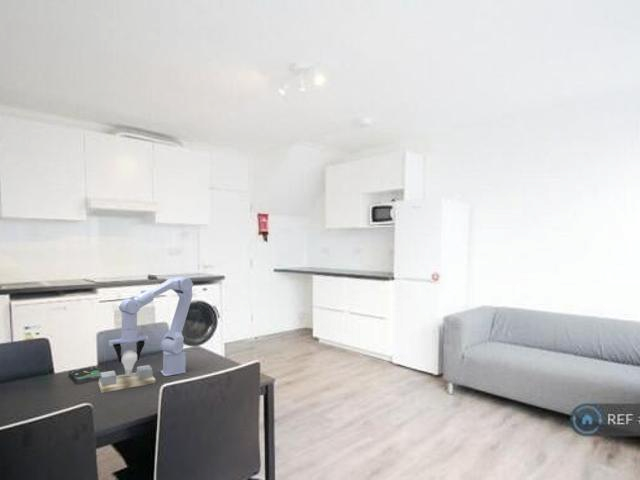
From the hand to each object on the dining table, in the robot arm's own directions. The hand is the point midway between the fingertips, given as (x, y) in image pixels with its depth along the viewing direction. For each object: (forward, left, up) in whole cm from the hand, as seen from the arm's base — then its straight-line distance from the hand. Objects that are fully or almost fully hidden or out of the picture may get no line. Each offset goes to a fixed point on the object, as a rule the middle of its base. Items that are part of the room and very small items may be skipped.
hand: (128, 360), depth 159 cm
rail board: (0, -2, -10) cm, 11 cm away
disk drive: (+14, -21, -11) cm, 27 cm away
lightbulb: (0, +1, -7) cm, 7 cm away
